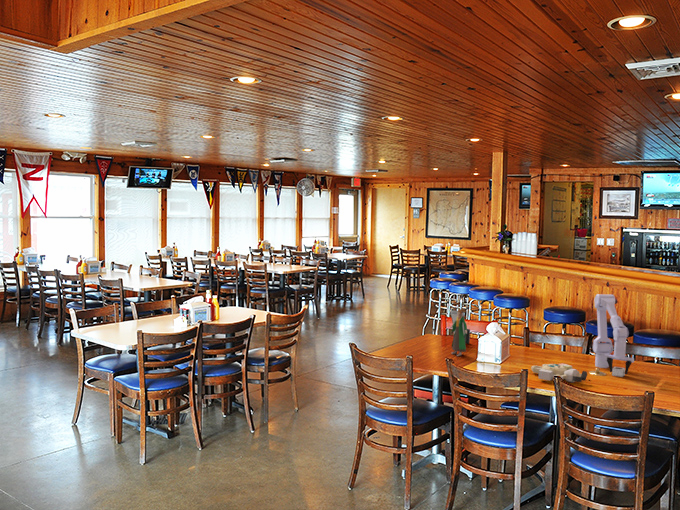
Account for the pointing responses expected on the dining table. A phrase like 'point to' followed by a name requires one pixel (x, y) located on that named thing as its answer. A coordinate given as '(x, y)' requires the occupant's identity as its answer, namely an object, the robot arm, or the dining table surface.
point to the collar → (618, 371)
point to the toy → (559, 372)
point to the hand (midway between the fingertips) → (618, 372)
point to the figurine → (459, 333)
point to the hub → (597, 372)
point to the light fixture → (467, 338)
